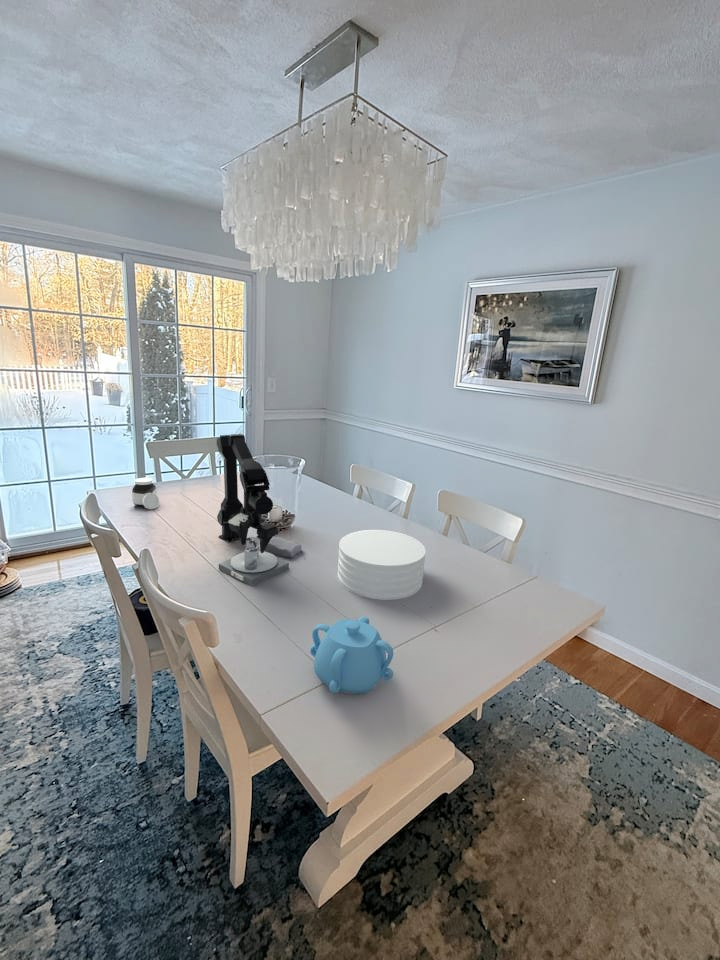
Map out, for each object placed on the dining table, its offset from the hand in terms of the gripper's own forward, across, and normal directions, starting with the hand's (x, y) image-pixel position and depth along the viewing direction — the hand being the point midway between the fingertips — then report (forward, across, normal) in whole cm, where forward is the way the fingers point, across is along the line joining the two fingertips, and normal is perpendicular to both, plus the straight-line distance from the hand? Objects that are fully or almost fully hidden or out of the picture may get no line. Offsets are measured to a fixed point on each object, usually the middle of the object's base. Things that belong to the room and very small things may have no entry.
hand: (252, 548), depth 150 cm
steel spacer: (+3, 0, 0) cm, 3 cm away
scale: (+6, +3, -2) cm, 7 cm away
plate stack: (+6, +37, +22) cm, 44 cm away
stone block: (+6, 0, +15) cm, 16 cm away
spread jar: (+6, -76, +6) cm, 76 cm away
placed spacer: (+3, +6, -6) cm, 9 cm away
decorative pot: (+6, +58, -22) cm, 63 cm away
